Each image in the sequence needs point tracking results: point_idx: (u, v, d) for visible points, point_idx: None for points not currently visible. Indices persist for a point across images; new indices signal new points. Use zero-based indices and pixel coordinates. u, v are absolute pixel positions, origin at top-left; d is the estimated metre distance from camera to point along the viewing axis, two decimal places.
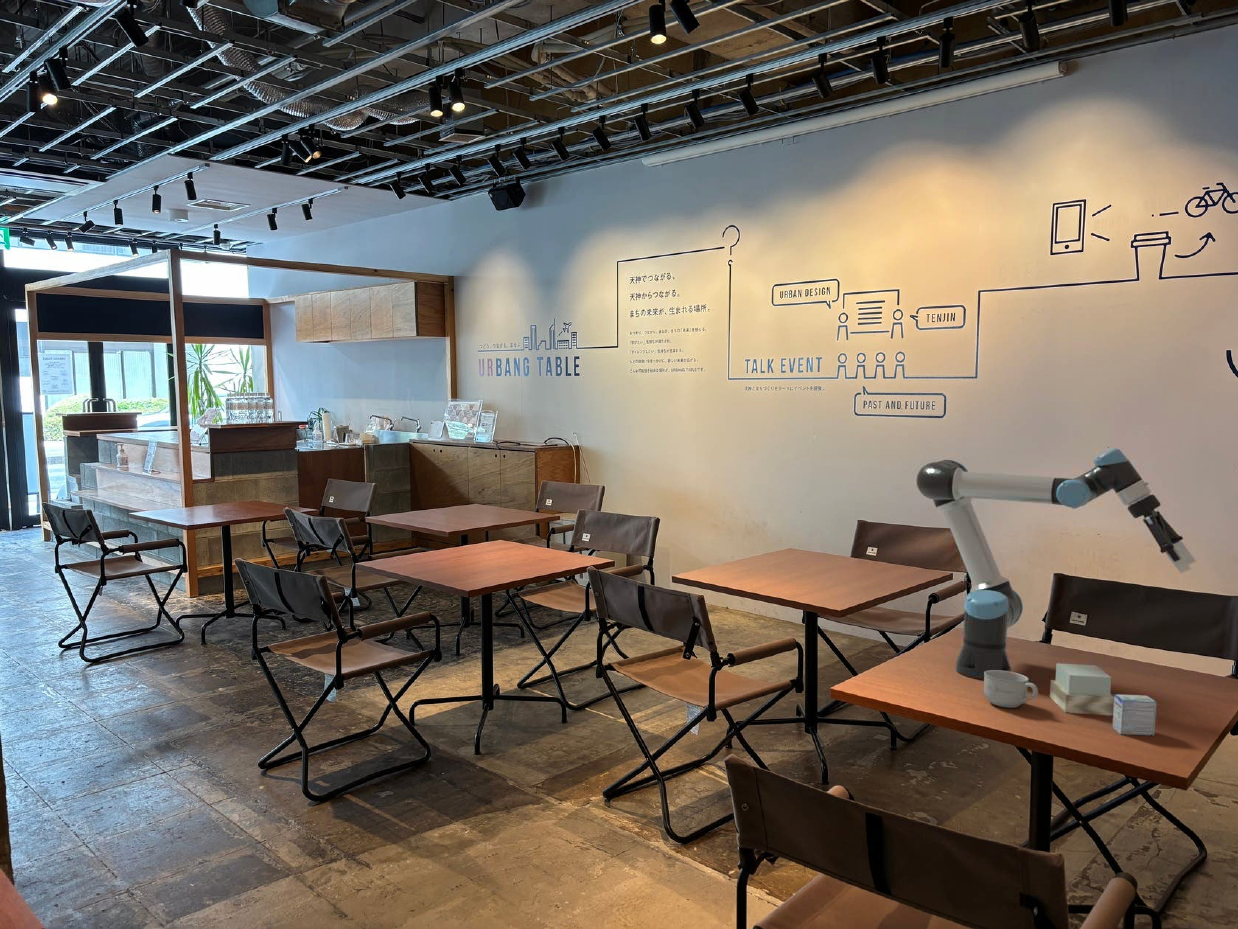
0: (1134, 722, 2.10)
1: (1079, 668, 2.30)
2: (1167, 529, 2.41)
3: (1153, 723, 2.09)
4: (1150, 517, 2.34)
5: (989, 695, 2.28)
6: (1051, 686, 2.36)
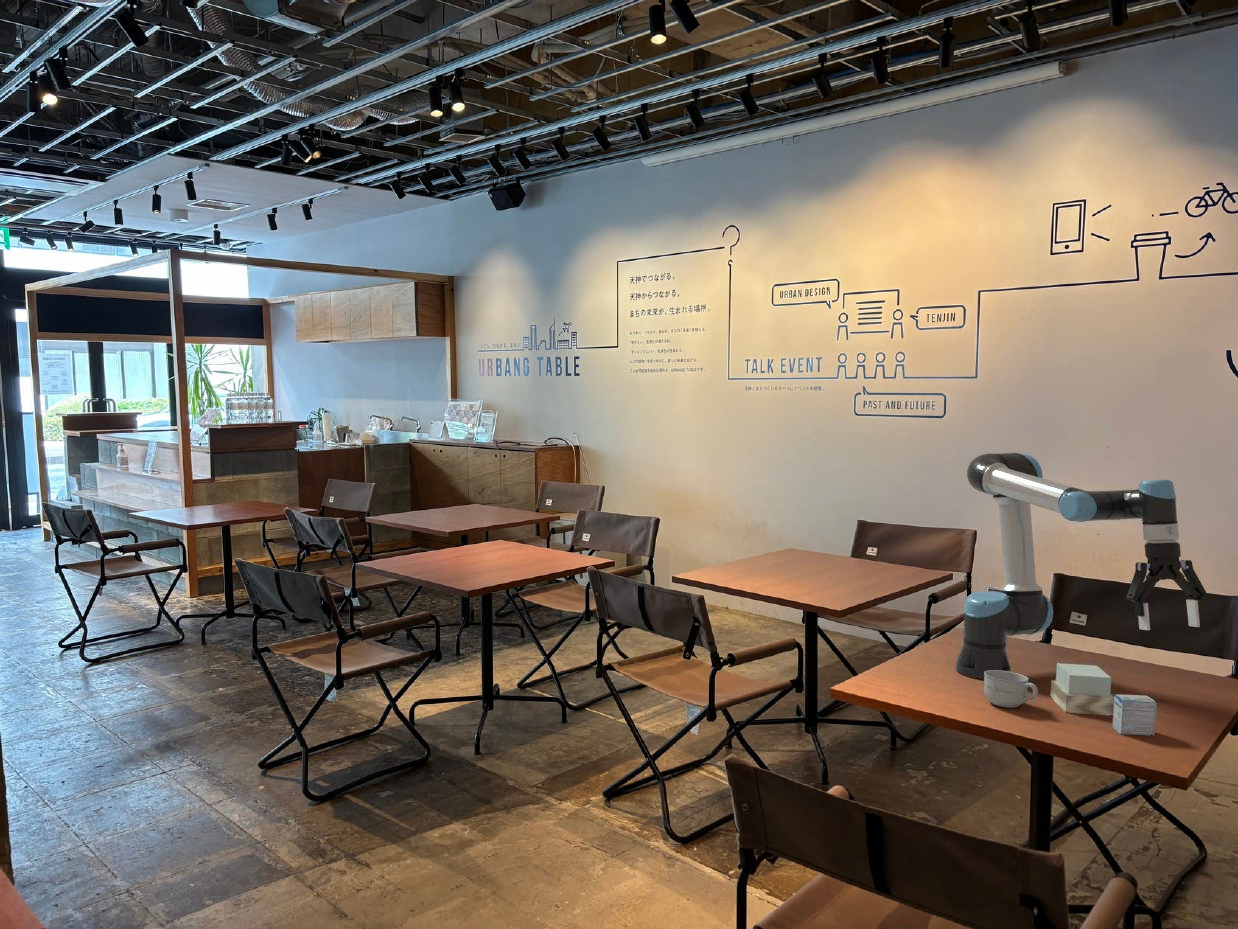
0: (1134, 722, 2.10)
1: (1080, 668, 2.30)
2: (1181, 583, 2.16)
3: (1153, 723, 2.09)
4: (1141, 564, 2.14)
5: (989, 695, 2.28)
6: (1052, 686, 2.36)
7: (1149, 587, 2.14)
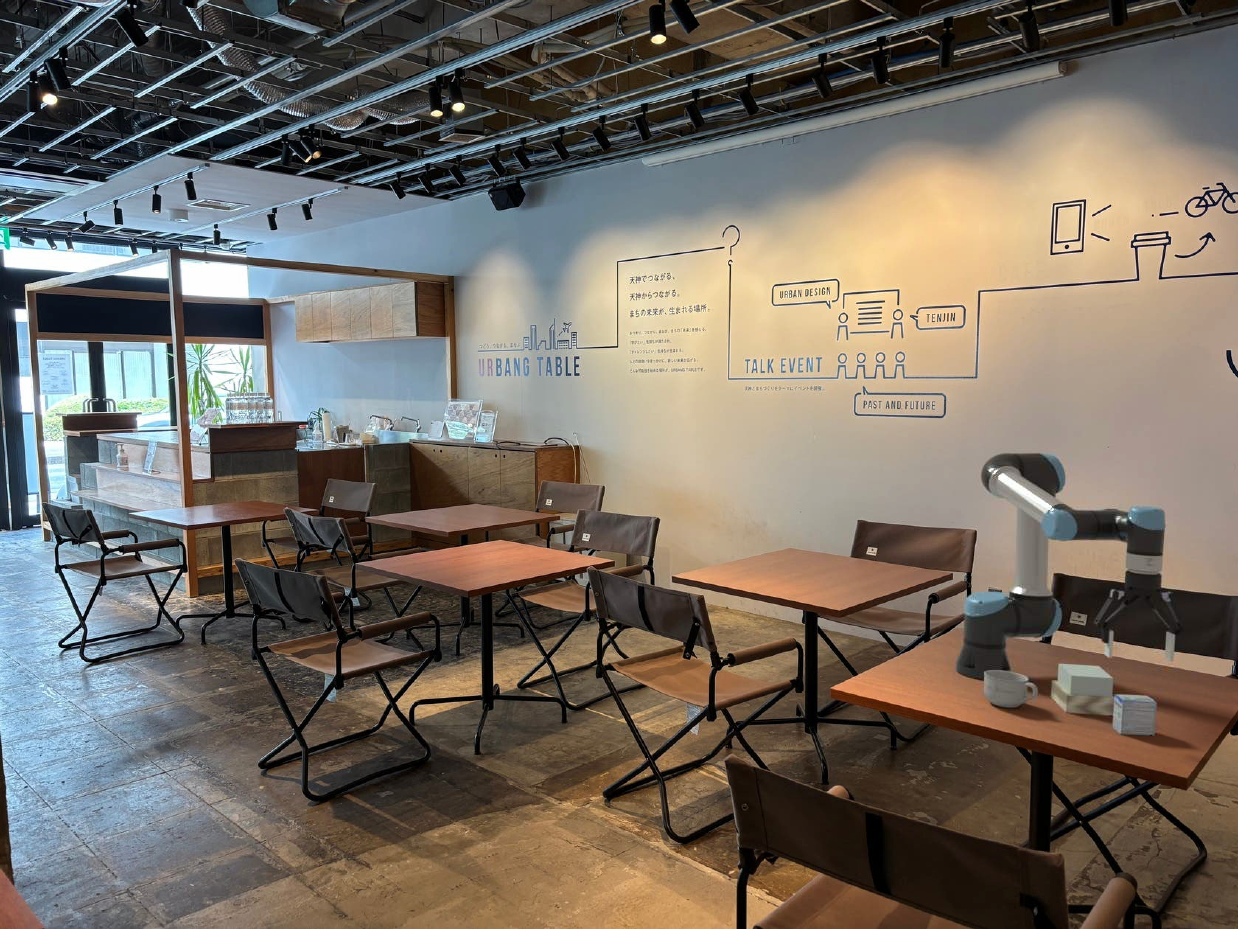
0: (1134, 722, 2.10)
1: (1081, 669, 2.30)
2: (1159, 615, 2.08)
3: (1153, 723, 2.09)
4: (1113, 592, 2.10)
5: (989, 695, 2.28)
6: (1052, 686, 2.36)
7: (1118, 616, 2.09)
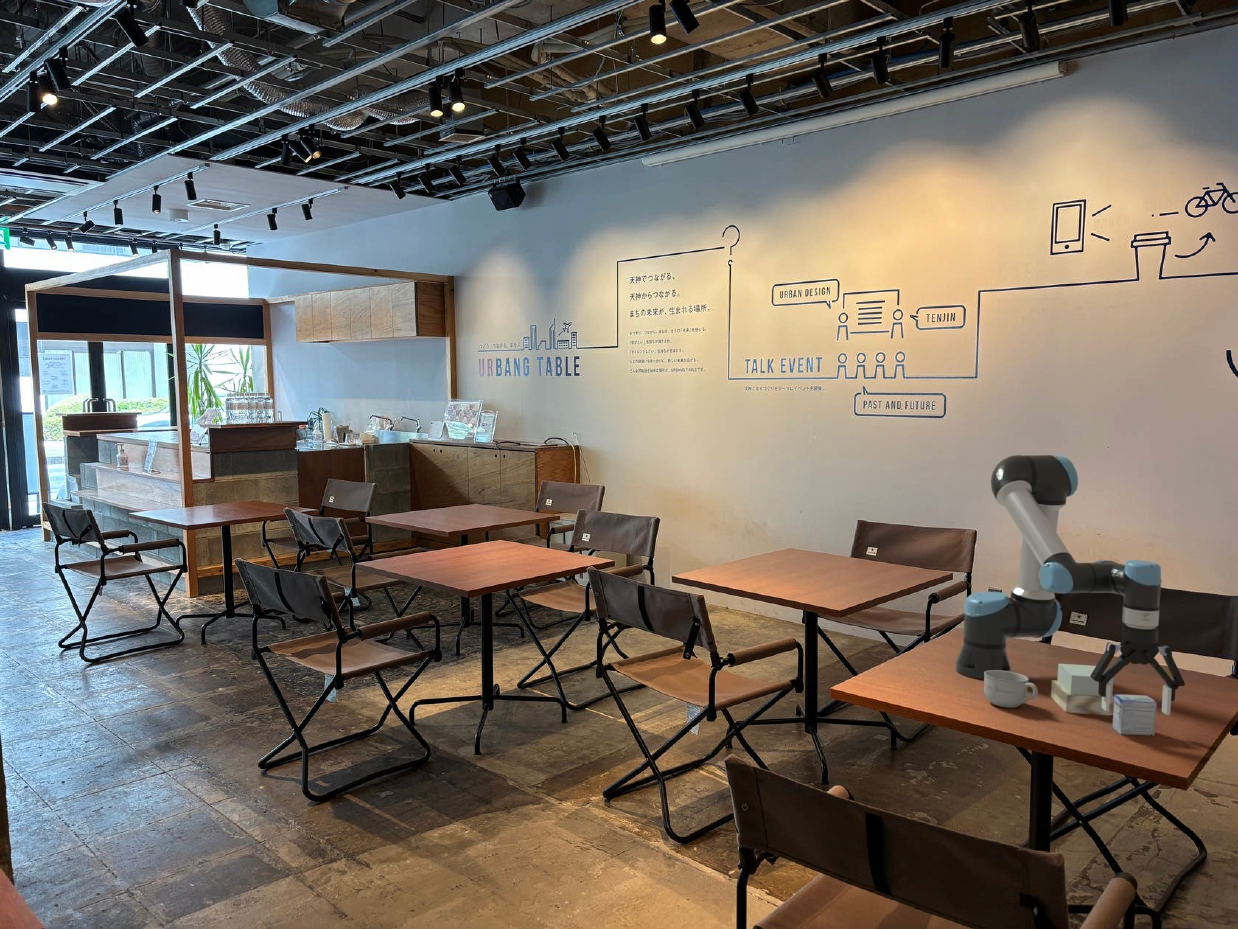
0: (1134, 722, 2.10)
1: (1081, 669, 2.30)
2: (1156, 669, 2.09)
3: (1153, 723, 2.09)
4: (1110, 646, 2.11)
5: (989, 695, 2.28)
6: (1052, 686, 2.36)
7: (1115, 670, 2.10)
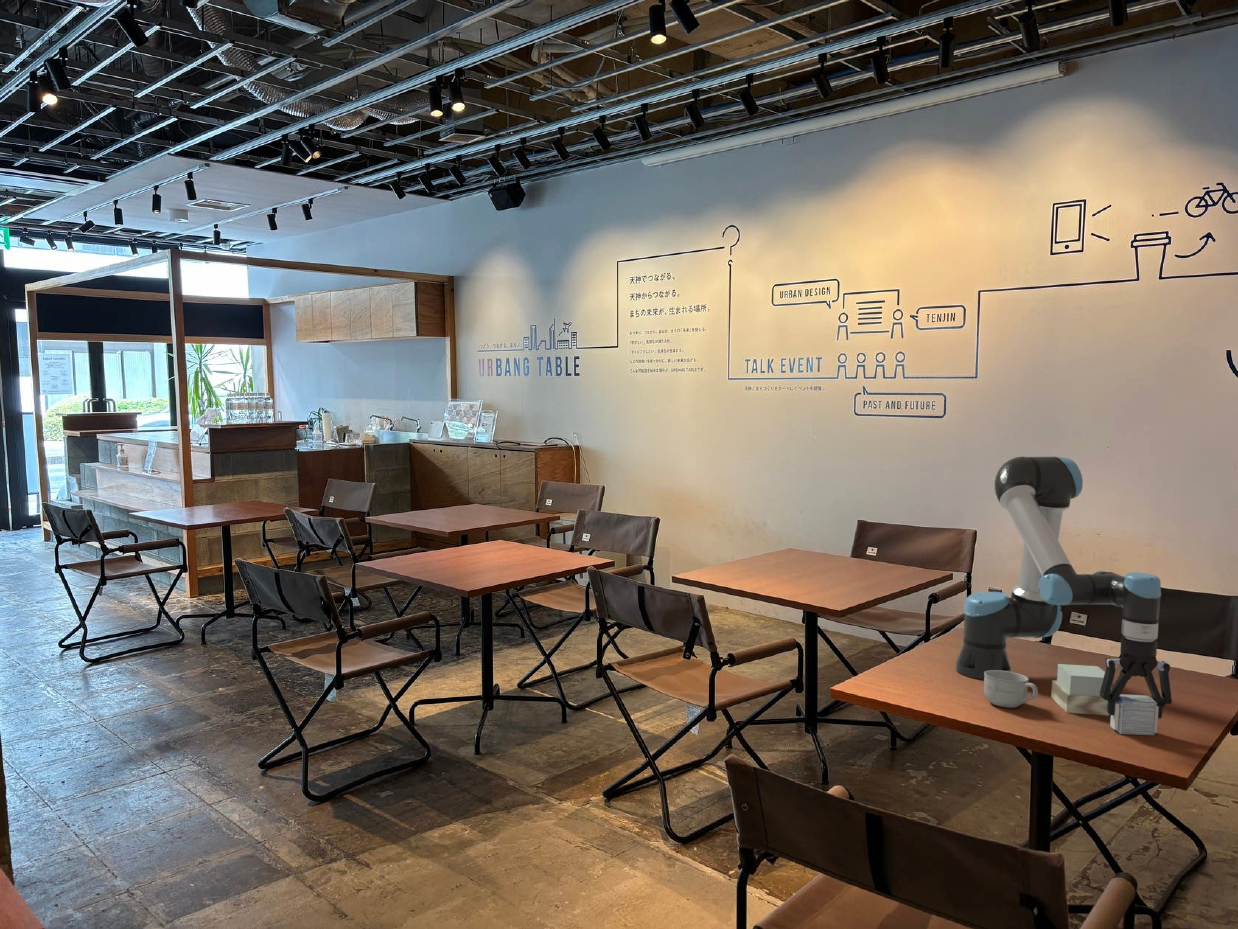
0: (1134, 722, 2.10)
1: (1081, 669, 2.30)
2: (1149, 683, 2.10)
3: (1153, 723, 2.09)
4: (1108, 662, 2.11)
5: (989, 695, 2.28)
6: (1052, 686, 2.35)
7: (1120, 686, 2.11)
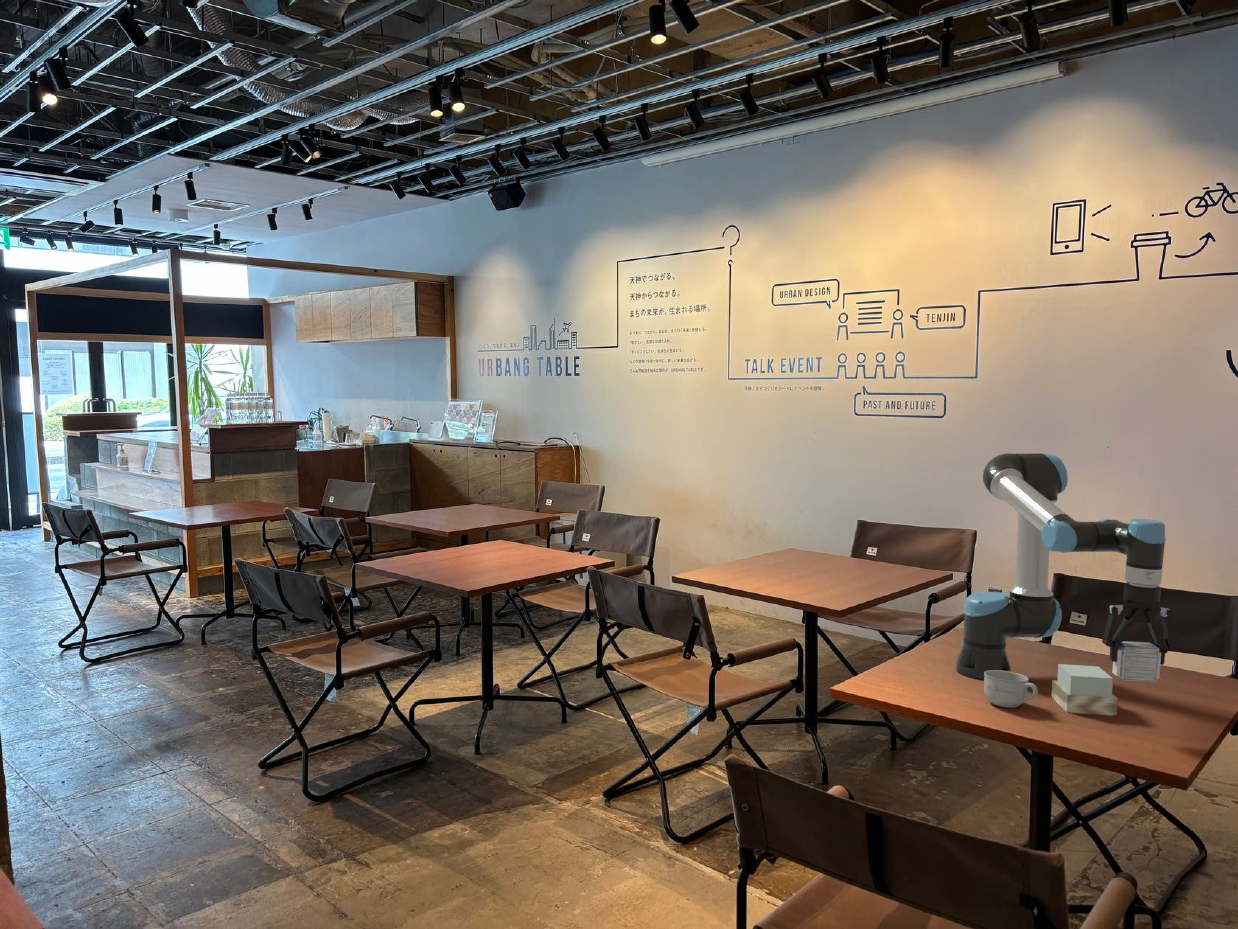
0: (1136, 669, 2.09)
1: (1081, 669, 2.30)
2: (1152, 630, 2.09)
3: (1155, 669, 2.09)
4: (1111, 608, 2.10)
5: (989, 695, 2.28)
6: (1052, 686, 2.36)
7: (1123, 632, 2.10)
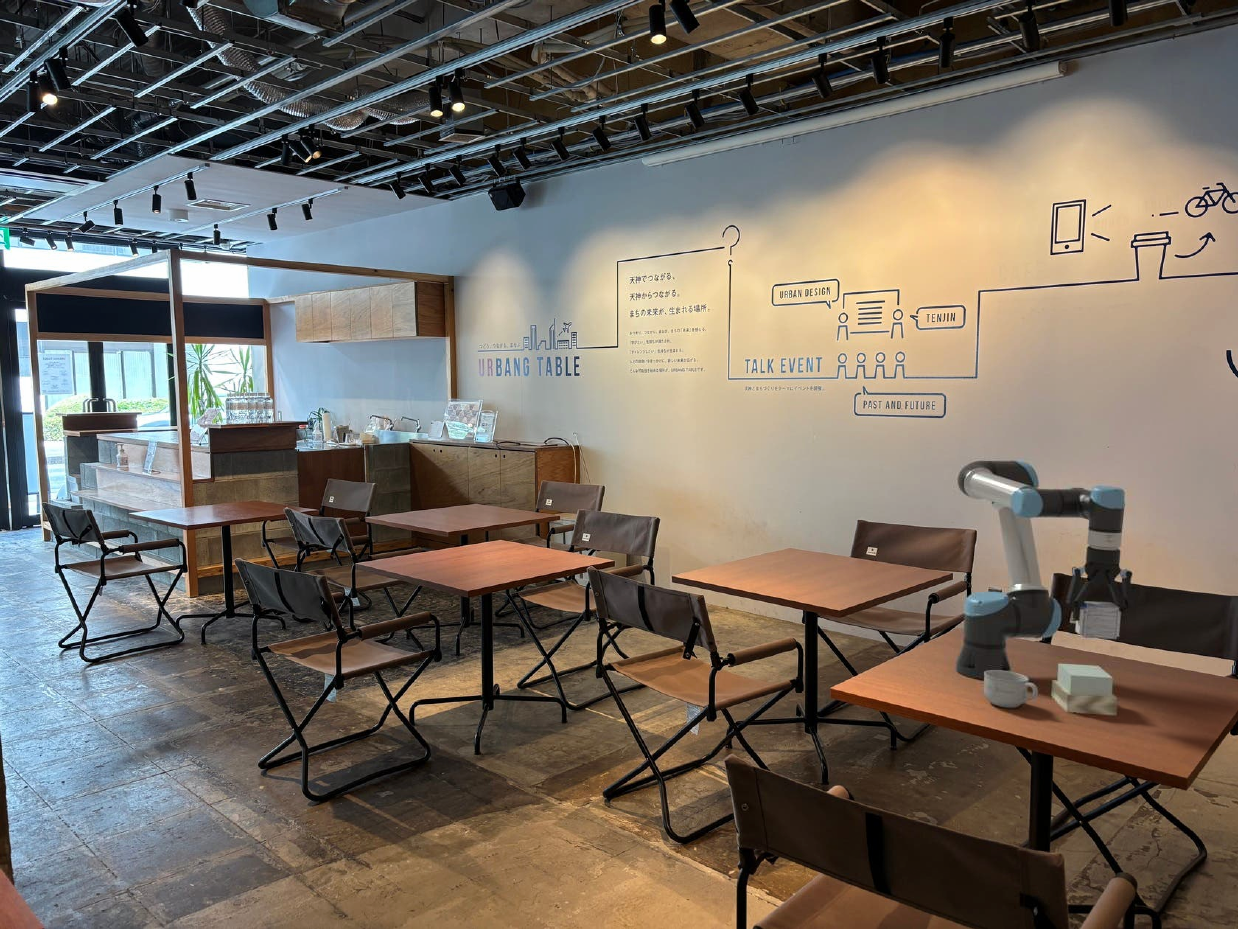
0: (1097, 626, 2.22)
1: (1081, 669, 2.30)
2: (1112, 590, 2.22)
3: (1115, 627, 2.22)
4: (1074, 570, 2.23)
5: (989, 695, 2.28)
6: (1052, 686, 2.36)
7: (1085, 593, 2.23)
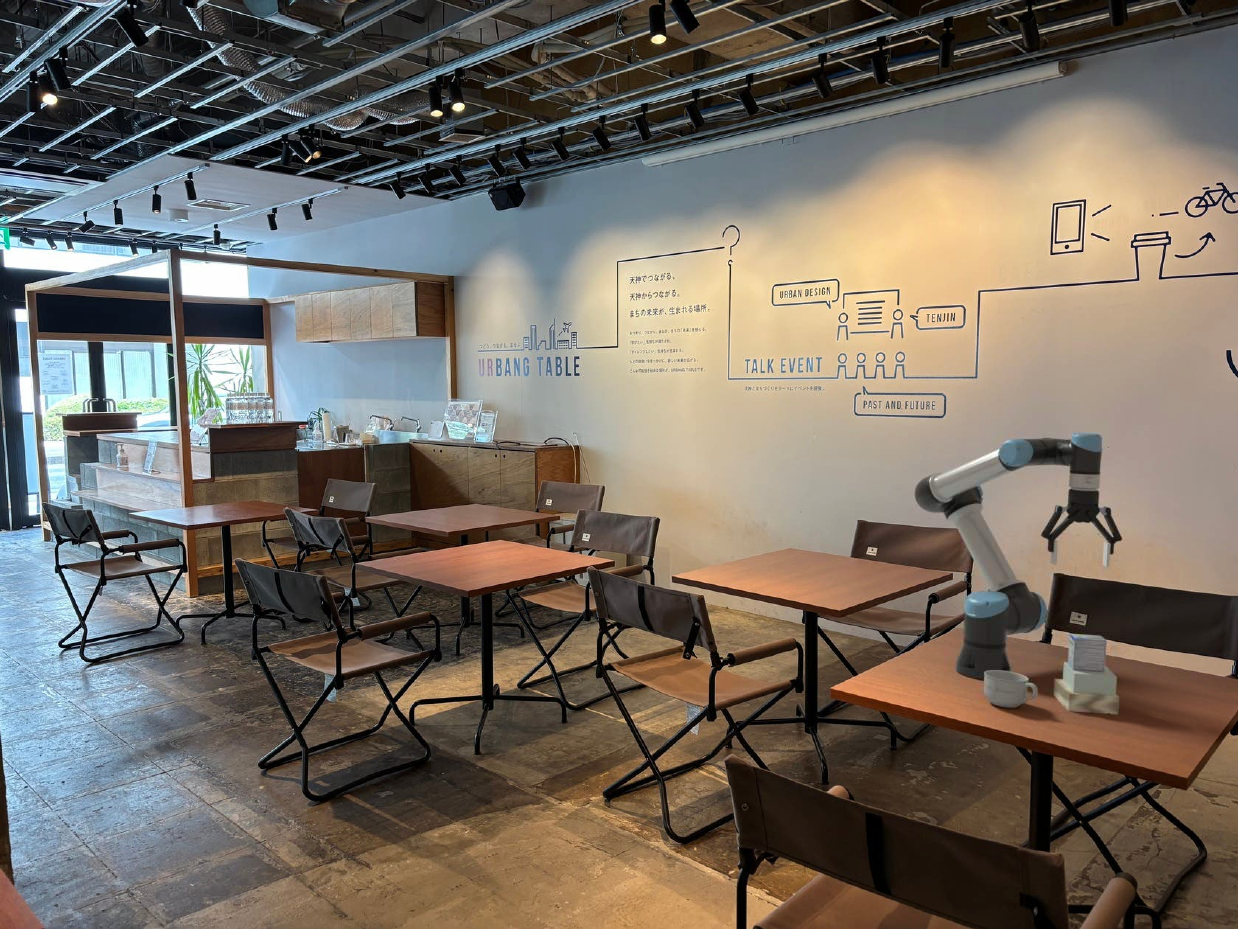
0: (1085, 659, 2.28)
1: None
2: (1097, 527, 2.40)
3: (1103, 660, 2.27)
4: (1057, 507, 2.41)
5: (989, 695, 2.28)
6: (1055, 685, 2.37)
7: (1062, 528, 2.41)
